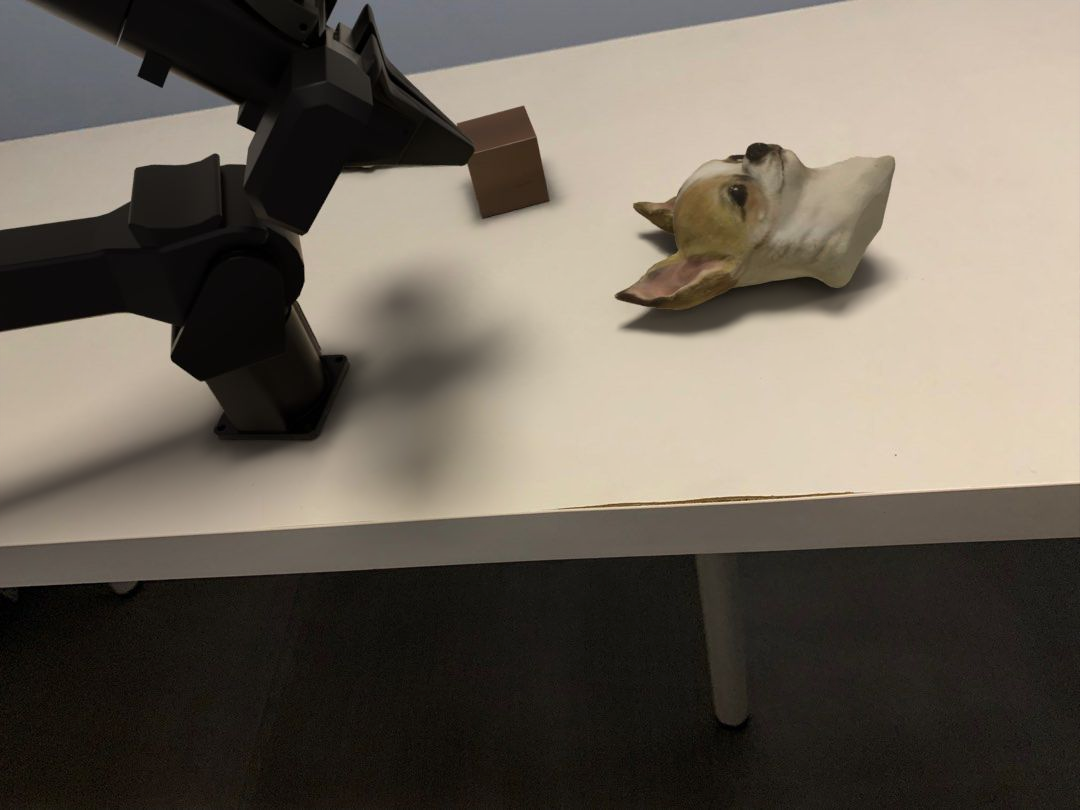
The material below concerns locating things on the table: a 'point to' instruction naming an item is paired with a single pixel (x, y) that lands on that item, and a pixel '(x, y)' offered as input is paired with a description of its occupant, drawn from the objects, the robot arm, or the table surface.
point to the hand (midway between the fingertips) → (469, 154)
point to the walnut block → (505, 162)
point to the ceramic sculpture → (763, 225)
